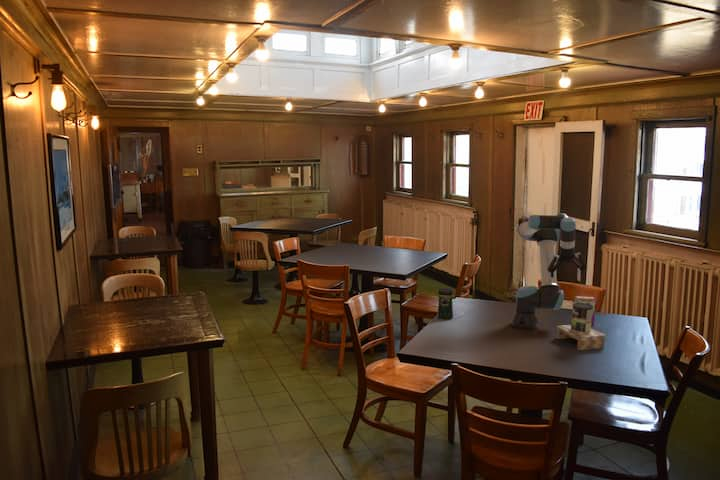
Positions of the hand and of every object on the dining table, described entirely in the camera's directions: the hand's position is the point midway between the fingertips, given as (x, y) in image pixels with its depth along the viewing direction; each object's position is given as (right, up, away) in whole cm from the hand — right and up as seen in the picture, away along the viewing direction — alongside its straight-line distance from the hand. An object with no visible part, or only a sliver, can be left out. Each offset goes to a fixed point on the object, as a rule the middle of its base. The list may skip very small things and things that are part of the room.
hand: (566, 281), depth 319 cm
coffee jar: (-61, -25, +37) cm, 76 cm away
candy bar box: (+21, -28, +30) cm, 46 cm away
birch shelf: (+6, -33, -4) cm, 34 cm away
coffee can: (+6, -27, -6) cm, 28 cm away
